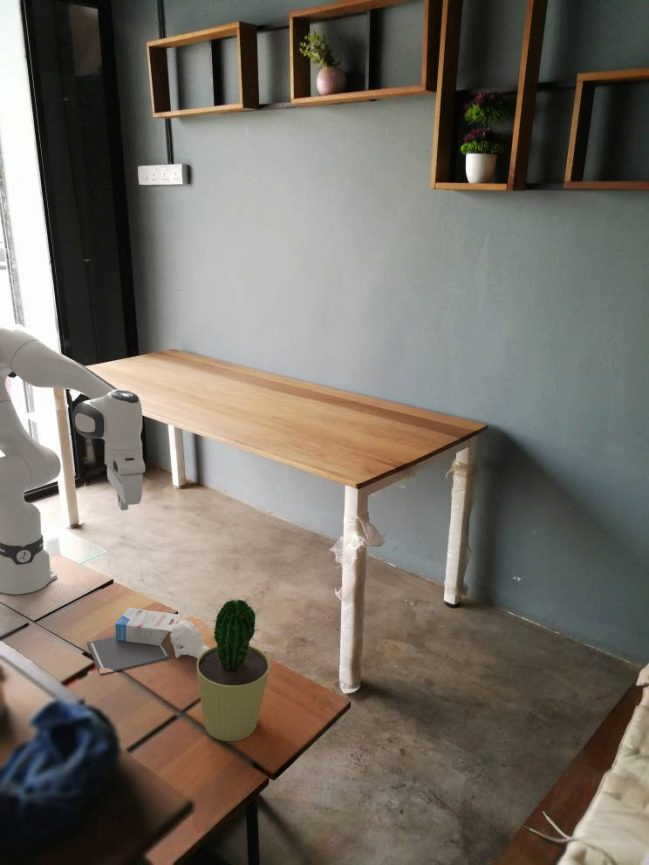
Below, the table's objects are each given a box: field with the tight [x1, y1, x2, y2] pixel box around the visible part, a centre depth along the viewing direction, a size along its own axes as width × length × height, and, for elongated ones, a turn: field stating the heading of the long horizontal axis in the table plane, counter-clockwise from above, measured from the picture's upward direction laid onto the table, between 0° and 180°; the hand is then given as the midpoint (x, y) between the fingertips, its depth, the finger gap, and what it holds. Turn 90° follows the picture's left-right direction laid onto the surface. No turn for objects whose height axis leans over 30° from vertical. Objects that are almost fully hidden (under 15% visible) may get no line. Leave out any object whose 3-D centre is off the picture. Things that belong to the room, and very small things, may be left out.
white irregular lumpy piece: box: [169, 619, 211, 660], centre depth 170 cm, size 6×8×12 cm
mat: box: [86, 635, 172, 673], centre depth 172 cm, size 14×17×1 cm
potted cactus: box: [196, 597, 271, 742], centre depth 145 cm, size 15×15×30 cm
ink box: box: [114, 607, 183, 646], centre depth 177 cm, size 8×5×15 cm
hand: (123, 508), depth 174 cm, fingers closed
